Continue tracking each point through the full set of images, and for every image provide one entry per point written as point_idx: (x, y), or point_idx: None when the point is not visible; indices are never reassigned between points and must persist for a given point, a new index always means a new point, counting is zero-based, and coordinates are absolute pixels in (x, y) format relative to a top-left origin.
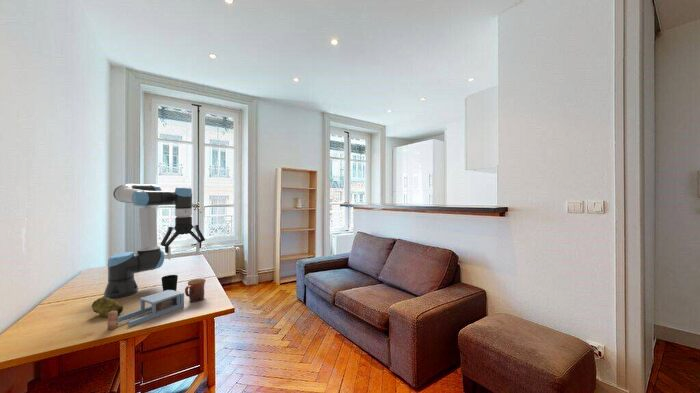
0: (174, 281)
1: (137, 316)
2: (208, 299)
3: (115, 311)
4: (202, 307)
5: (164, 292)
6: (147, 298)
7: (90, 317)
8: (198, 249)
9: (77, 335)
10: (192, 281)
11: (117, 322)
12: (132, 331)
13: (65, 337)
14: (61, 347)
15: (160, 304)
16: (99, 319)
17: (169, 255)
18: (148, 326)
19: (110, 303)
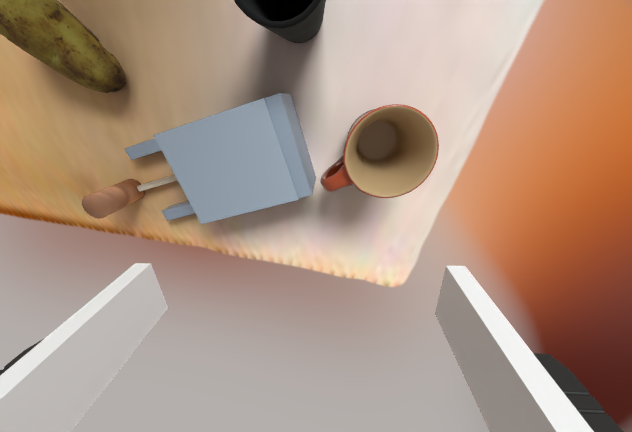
0: (302, 26)
1: None
2: None
3: (101, 207)
4: (356, 228)
5: (244, 132)
6: (181, 163)
7: None
8: (472, 379)
9: (61, 171)
10: (381, 114)
11: (134, 197)
12: (182, 244)
13: (36, 161)
14: (57, 216)
15: None
16: None
17: (129, 345)
18: (214, 244)
19: (49, 50)
